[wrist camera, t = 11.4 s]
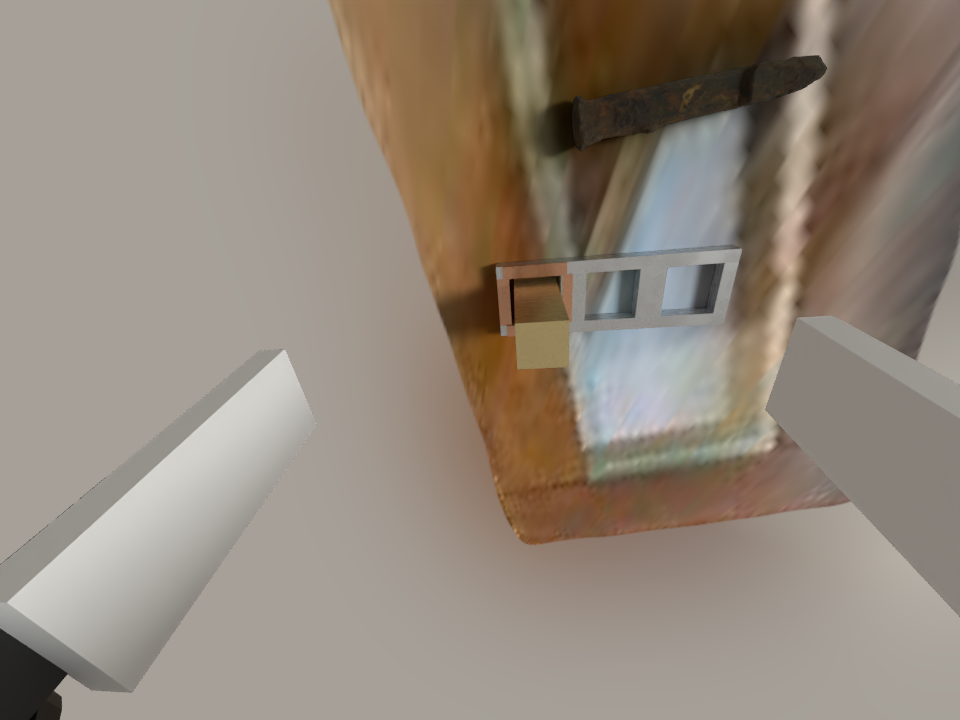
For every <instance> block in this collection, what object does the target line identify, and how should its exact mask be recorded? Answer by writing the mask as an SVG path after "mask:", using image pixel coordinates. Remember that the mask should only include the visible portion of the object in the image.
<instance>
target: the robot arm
mask: <svg viewBox="0 0 960 720" xmlns="http://www.w3.org/2000/svg"><path fill="white" fill-rule="evenodd" d="M765 410H766V411H767V412H768V413H769V414H770V415H771V417H772V418H773V419H774V420H775V421H776V422H777V423H778V424H779V425H780V426H781V427H782V428H783V429H784V430H785V431H786V432H787V434H788V435H789V436H790V437H791V438H792V439H793V440H794V441H795V442H796V443H797V444H798V445H799V446H800V447H801V448H802V449H803V451H804V452H805V453H806V454H807V455H808V456H809V457H810V458H811V459H812V460H813V461H814V462H815V463H816V464H817V465H818V467H819V468H820V469H821V470H822V471H823V472H824V473H825V474H826V475H827V476H828V477H829V478H830V479H831V480H832V481H833V482H834V484H835V485H836V486H837V487H838V488H839V489H840V490H841V491H842V492H843V493H844V494H845V495H846V496H847V497H848V498H849V499H850V501H851V502H852V503H853V504H854V505H855V506H856V507H857V508H858V509H859V510H860V511H861V512H862V513H863V514H864V515H865V516H866V518H868V520H869V521H870V522H871V523H872V524H873V525H874V526H875V527H876V528H877V529H878V530H879V531H880V532H881V534H882V535H883V536H884V537H885V538H886V539H887V540H888V541H889V542H890V543H891V544H892V545H893V546H894V547H895V548H896V549H897V550H898V552H900V553H901V555H902V556H903V557H904V558H905V559H906V560H907V561H908V562H909V563H910V564H911V565H912V567H913V568H914V569H915V570H916V571H917V572H918V573H919V574H920V575H921V576H922V577H923V578H924V579H925V580H926V581H927V582H928V584H929V585H930V586H931V587H932V588H933V589H934V590H935V591H936V592H937V593H938V594H939V595H940V596H941V597H942V598H943V599H944V601H945V602H946V603H947V604H948V605H949V606H950V607H951V608H952V609H953V610H954V611H955V612H956V613H957V614H958V615H959V617H960V385H959V384H958V383H955V382H954V381H952V380H950V379H948V378H947V377H945V376H943V375H941V374H939V373H937V372H935V371H934V370H932V369H930V368H928V367H926V366H925V365H923V364H921V363H919V362H917V361H915V360H914V359H912V358H910V357H908V356H906V355H904V354H903V353H901V352H899V351H897V350H895V349H893V348H891V347H890V346H888V345H886V344H884V343H882V342H880V341H879V340H877V339H875V338H873V337H871V336H869V335H868V334H866V333H864V332H862V331H860V330H858V329H857V328H855V327H853V326H851V325H849V324H847V323H846V322H844V321H842V320H840V319H838V318H836V317H835V316H818V317H801V318H797V320H796V323H795V326H794V329H793V332H792V334H791V337H790V340H789V343H788V346H787V349H786V352H785V354H784V357H783V360H782V363H781V366H780V369H779V371H778V374H777V377H776V380H775V383H774V386H773V389H772V391H771V394H770V397H769V400H768V403H767V406H766V409H765ZM316 425H317V424H316V422H315V420H314V417H313V415H312V413H311V410H310V408H309V405H308V403H307V401H306V399H305V396H304V394H303V391H302V389H301V386H300V384H299V382H298V379H297V377H296V375H295V372H294V370H293V368H292V365H291V363H290V360H289V358H288V356H287V353H286V351H285V349H278V350H260V351H258V352H257V353H256V354H255V355H254V356H252V357H251V358H250V359H249V360H247V361H246V362H245V363H244V364H243V365H241V367H239V368H238V369H237V370H235V371H234V372H233V373H232V374H231V375H229V376H228V377H227V378H226V379H224V380H223V381H222V382H221V383H220V384H218V385H217V386H216V387H215V388H214V389H212V390H211V391H210V392H209V393H208V394H206V395H205V396H204V397H203V398H202V399H200V400H199V401H198V402H197V403H196V404H195V405H193V406H192V407H191V408H189V409H188V410H187V411H186V412H185V413H183V414H182V415H181V416H180V417H179V418H177V419H176V420H175V421H174V422H173V423H171V424H170V425H169V426H168V427H167V428H165V429H164V430H163V431H162V432H160V433H159V434H158V435H157V436H156V437H154V438H153V439H152V440H151V441H150V442H148V443H147V444H146V445H145V446H143V447H142V448H141V449H140V450H139V451H137V452H136V453H135V454H134V455H133V456H131V458H129V459H128V460H127V461H126V462H124V463H123V464H122V465H121V466H119V467H118V468H117V469H116V470H115V471H113V472H112V473H111V474H110V475H108V476H107V477H106V478H104V479H103V480H102V481H101V482H99V484H97V485H96V486H95V487H93V488H92V489H91V490H90V491H89V492H87V493H86V494H85V495H84V496H83V497H81V498H80V499H79V500H78V501H77V502H76V503H75V504H73V505H72V506H70V507H69V508H68V509H67V510H66V511H64V512H63V513H62V514H61V515H60V516H58V517H57V518H56V519H55V520H54V521H53V522H52V523H50V524H49V525H47V526H46V527H45V528H44V529H43V530H42V531H40V532H39V533H38V534H37V535H35V536H34V537H33V538H32V539H30V540H29V541H28V542H27V543H26V544H25V545H23V546H22V547H21V548H20V549H18V550H17V551H16V552H15V553H14V554H12V555H11V556H10V557H9V558H7V559H6V560H5V561H4V562H3V563H1V564H0V720H60V716H61V711H62V697H61V696H60V695H59V694H57V693H56V692H55V691H54V689H55V688H56V687H57V686H58V685H59V684H60V682H61V681H62V680H63V679H64V678H65V676H66V675H67V674H68V675H69V676H71V677H72V678H74V679H75V680H77V681H78V682H80V683H81V684H83V685H84V686H86V687H87V688H89V689H90V690H96V691H114V692H129V693H132V692H133V691H134V689H135V688H136V686H137V685H138V684H139V682H140V681H141V679H142V678H143V676H144V675H145V673H146V672H147V671H148V669H149V668H150V666H151V665H152V663H153V661H154V660H155V659H156V657H157V656H158V654H159V653H160V651H161V650H162V649H163V647H164V646H165V644H166V643H167V641H168V640H169V639H170V637H171V636H172V634H173V633H174V631H175V630H176V628H177V627H178V625H179V624H180V623H181V621H182V620H183V618H184V617H185V615H186V614H187V613H188V611H189V610H190V608H191V607H192V605H193V604H194V602H195V601H196V599H197V598H198V596H199V595H200V594H201V592H202V591H203V589H204V588H205V586H206V585H207V584H208V582H209V580H210V579H211V578H212V576H213V575H214V573H215V572H216V570H217V569H218V567H219V566H220V565H221V563H222V562H223V560H224V559H225V557H226V556H227V555H228V553H229V552H230V550H231V549H232V547H233V546H234V544H235V543H236V541H237V540H238V539H239V537H240V536H241V534H242V532H243V531H244V530H245V528H246V527H247V525H248V524H249V523H250V521H251V520H252V518H253V517H254V515H255V514H256V512H257V511H258V509H259V508H260V507H261V505H262V504H263V502H264V501H265V499H266V498H267V497H268V495H269V493H270V492H271V491H272V489H273V488H274V486H275V485H276V483H277V482H278V480H279V479H280V478H281V476H282V475H283V473H284V472H285V470H286V469H287V468H288V466H289V465H290V463H291V462H292V460H293V459H294V457H295V456H296V454H297V453H298V452H299V450H300V449H301V447H302V446H303V444H304V443H305V441H306V440H307V438H308V437H309V435H310V434H311V433H312V431H313V430H314V428H315V427H316Z"/></svg>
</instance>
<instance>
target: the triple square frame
mask: <svg viewBox="0 0 960 720" xmlns="http://www.w3.org/2000/svg"><path fill="white" fill-rule="evenodd" d="M741 251H742V248H740V247H737V246H735V245H724V246H711V247H698V248H686V249H673V250H660V251H647V252H634V253H621V254H608V255H595V256H582V257H569V258H557V259H544V260H531V261H518V262H505V263H496V276H497V289H498V302H499V315H500V328H501V336H516V335H515V319H512V314H511V298H510V281H509V279H518V278H532V277H546V276H559V290H560V293H561V296H562V299H563V302H564V305H565V309H566V312H567V315H568V318H569V332H583V331H602V330H620V329H638V328H656V327H674V326H692V325H710V324H724V320H725V316H726V312H727V308H728V304H729V300H730V295H731V291H732V287H733V283H734V279H735V275H736V271H737V267H738V263H739V259H740V255H741ZM703 264H716V266H715V271H714V275H713V280H712V284H711V289H710V293H709V298H708V303H707V307H706V308H692V309H675V310H661V308H662V301H663V295H664V288H665V282H666V275H667V269H668V267H675V266H689V265H703ZM634 269H636V272H635V281H634V290H633V299H632V308H631V312H626V313H609V314H592V315H585V296H586V274H587V273H593V272H607V271H620V270H634Z"/></svg>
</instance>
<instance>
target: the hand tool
mask: <svg viewBox="0 0 960 720" xmlns="http://www.w3.org/2000/svg"><path fill="white" fill-rule="evenodd" d="M826 70H827V67H826V65H825V64H824V63H823V61H822V59H821V57H819V56H817V55H815V56H804V57H793V58H790V59H788V60H780V61H765V62H760V63H758V64H755V65H752V66H748V67H742V68H737V69H733V70H728V71H724V72H719V73H715V74H709V75H703V76H699V77H692V78H687V79H682V80H678V81H674V82H668V83H664V84H660V85H656V86H650V87H645V88H640V89H635V90H632V91H628V92H621V93H616V94H610V95H608V96H605V97H602V98H598V99H594V100H585V99H584V98H582V97H581V96H576V97H575V98H574V100H573V110H572V124H573V141H574V142H575V145H576V147H577V148H578V150H579V151H583V150H585V149H586V148H587V147H588V146H590V145H591V144H593V143H597V142H599V141H601V140H602V139H605V138H612V137H621V136H627V135H634V134H638V133H647V134H648V133H651V132H653V131H655V130H656V129H657V128H659V127H661V126H663V125H666V124H672V123H675V122H679V121H683V120H687V119H691V118H694V117H699V116H703V115H708V114H712V113H716V112H720V111H727V110H731V109H736V108H738V107H741V106H746V105H750V104H756V103H761V102H765V101H768V100H772V99H775V98H778V97H781V96H784V95H787V94H790V93H793V92H795V91H798V90H801V89H803V88H805V87H807V86H808V85H809V84H812V83H813V82H814V81H816V80H818V79H820V78H821V77H822V76H823V75H824V74H825V71H826Z"/></svg>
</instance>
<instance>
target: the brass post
mask: <svg viewBox="0 0 960 720" xmlns="http://www.w3.org/2000/svg"><path fill="white" fill-rule="evenodd" d="M514 308H515V335H516V352H517V369H534V368H555V367H568V365H569V318H568V315H567V312H566V309H565V305H564V302H563V299H562V296H561V293H560V290H559V287H558V284H557V281H556V278H555V276H546V277H532V278H518V279H514Z"/></svg>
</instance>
